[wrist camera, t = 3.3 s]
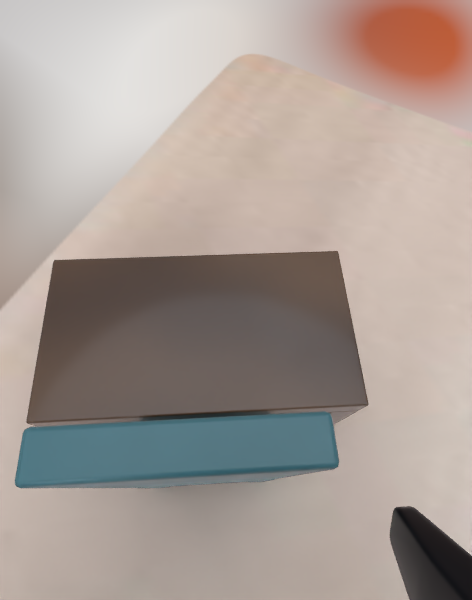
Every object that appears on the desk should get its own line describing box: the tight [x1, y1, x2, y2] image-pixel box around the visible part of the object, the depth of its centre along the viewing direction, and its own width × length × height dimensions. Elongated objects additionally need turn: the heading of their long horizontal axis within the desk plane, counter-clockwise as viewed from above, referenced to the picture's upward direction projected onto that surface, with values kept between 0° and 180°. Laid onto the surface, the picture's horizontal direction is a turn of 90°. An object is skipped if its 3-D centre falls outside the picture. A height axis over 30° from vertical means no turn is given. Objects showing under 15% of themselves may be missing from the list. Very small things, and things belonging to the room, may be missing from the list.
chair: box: [15, 411, 339, 488], centre depth 12 cm, size 5×5×14 cm
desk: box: [27, 251, 368, 427], centre depth 17 cm, size 6×11×6 cm, turn 93°
